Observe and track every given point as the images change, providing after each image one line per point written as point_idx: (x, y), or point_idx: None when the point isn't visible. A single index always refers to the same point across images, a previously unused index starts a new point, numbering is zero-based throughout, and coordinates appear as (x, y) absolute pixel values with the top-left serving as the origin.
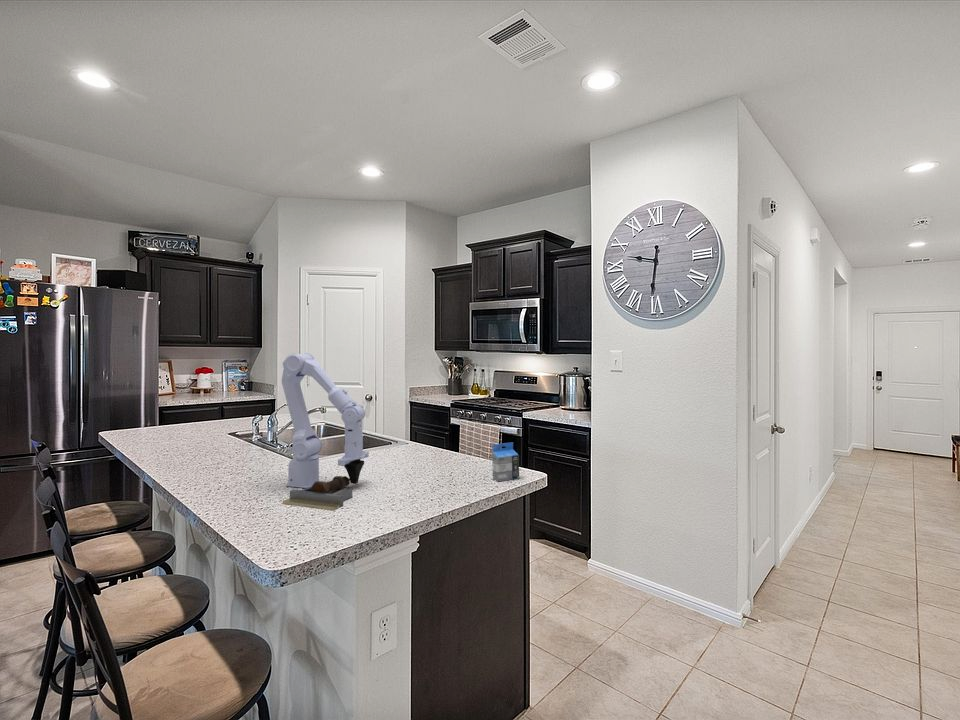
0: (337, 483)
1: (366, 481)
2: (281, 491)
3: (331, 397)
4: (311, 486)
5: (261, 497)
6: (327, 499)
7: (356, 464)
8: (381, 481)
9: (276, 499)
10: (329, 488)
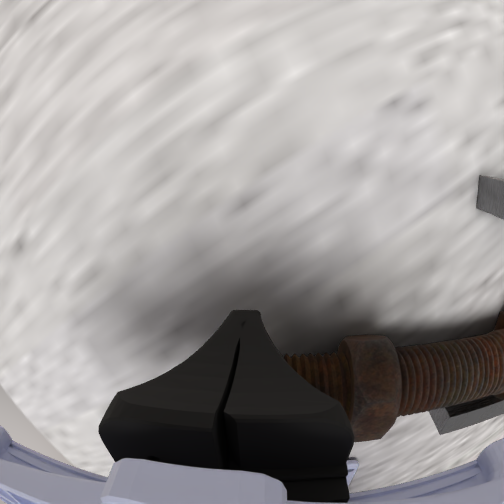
0: (428, 365)
1: (95, 310)
2: (395, 484)
3: None
4: (484, 417)
5: None
6: None
7: (346, 426)
8: (48, 215)
9: (484, 435)
10: (501, 339)
